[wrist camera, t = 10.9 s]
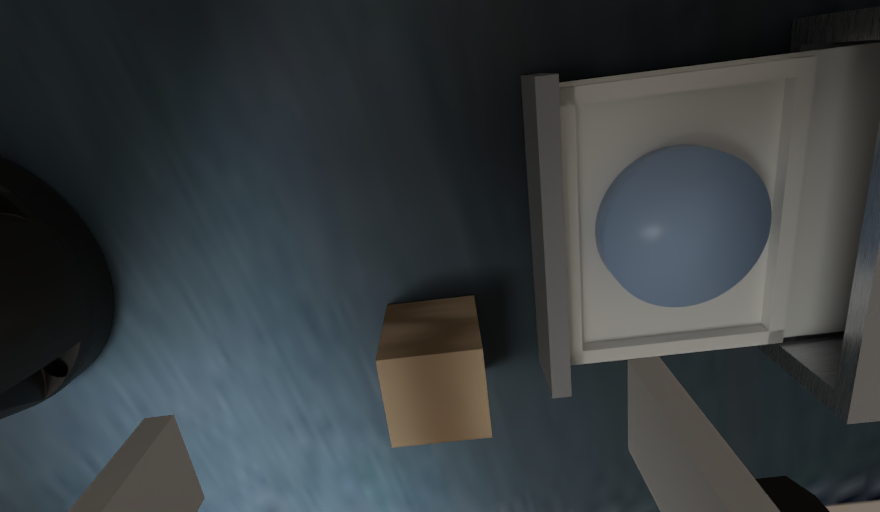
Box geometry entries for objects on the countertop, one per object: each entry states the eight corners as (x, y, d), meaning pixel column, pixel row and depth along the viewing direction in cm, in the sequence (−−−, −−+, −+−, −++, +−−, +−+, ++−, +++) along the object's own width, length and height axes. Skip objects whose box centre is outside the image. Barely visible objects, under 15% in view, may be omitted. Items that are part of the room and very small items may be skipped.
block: (400, 379, 31) (391, 447, 26) (387, 305, 30) (375, 360, 24) (482, 370, 31) (492, 437, 25) (473, 295, 29) (482, 349, 24)
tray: (538, 359, 30) (552, 398, 27) (520, 75, 25) (534, 76, 21) (842, 327, 30) (897, 362, 26) (890, 28, 24) (968, 21, 21)
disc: (597, 303, 28) (606, 316, 26) (592, 156, 25) (602, 162, 24) (746, 283, 28) (764, 296, 26) (758, 133, 25) (779, 137, 23)
